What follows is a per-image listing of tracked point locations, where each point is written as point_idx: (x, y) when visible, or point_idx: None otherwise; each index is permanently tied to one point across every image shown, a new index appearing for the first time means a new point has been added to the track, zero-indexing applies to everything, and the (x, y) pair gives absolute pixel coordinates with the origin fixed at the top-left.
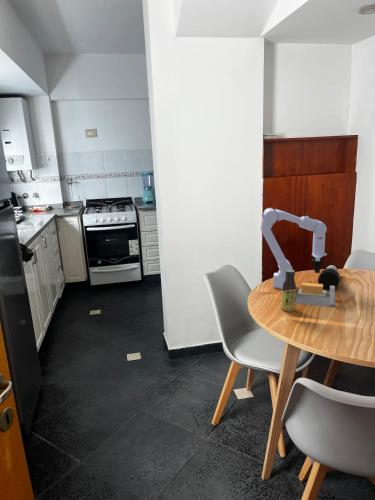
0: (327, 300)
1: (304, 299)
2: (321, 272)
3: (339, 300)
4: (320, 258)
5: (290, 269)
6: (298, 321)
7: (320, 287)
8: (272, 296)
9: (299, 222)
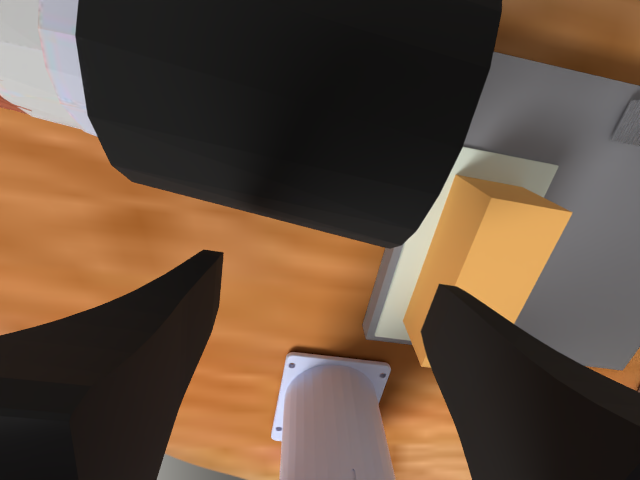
0: None
1: (579, 316)
2: (239, 202)
3: (593, 35)
4: (141, 402)
5: None
6: None
7: (556, 230)
8: (441, 441)
9: None
